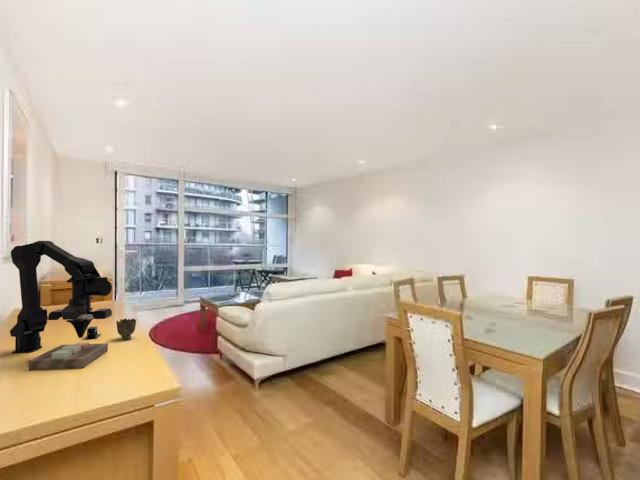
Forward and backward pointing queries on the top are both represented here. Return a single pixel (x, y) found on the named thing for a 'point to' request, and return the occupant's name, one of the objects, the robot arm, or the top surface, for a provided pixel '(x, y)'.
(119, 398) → the top surface
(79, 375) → the top surface
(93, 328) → the black block on base
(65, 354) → the sage button
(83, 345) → the terracotta button
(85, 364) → the brown wooden tray
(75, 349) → the ivory button
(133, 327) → the cup
